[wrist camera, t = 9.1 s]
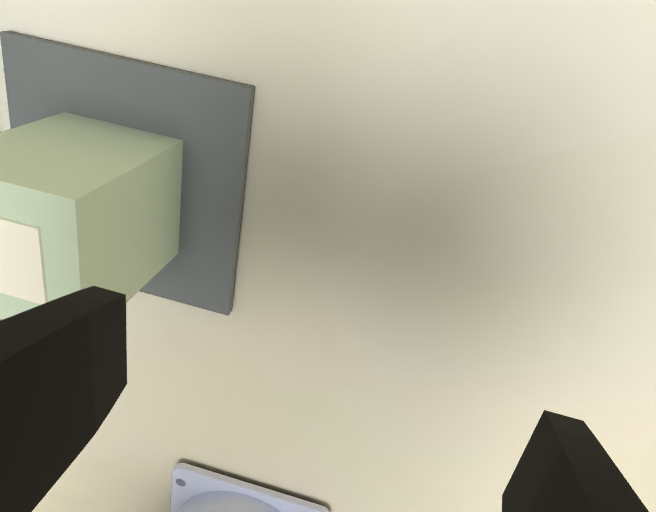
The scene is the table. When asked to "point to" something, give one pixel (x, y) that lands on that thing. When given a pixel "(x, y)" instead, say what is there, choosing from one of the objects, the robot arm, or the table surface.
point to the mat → (160, 118)
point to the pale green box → (84, 208)
